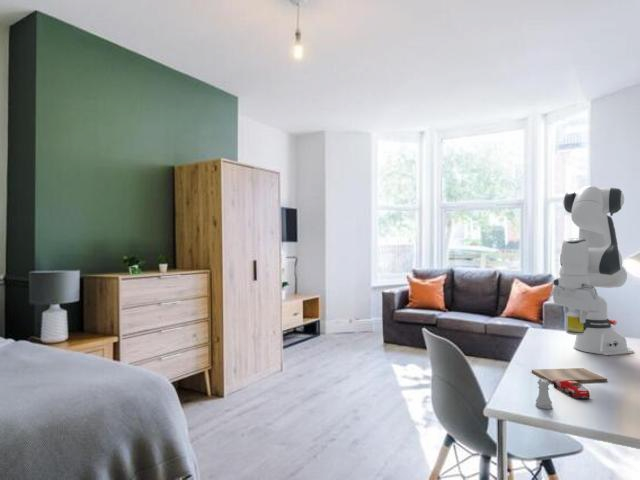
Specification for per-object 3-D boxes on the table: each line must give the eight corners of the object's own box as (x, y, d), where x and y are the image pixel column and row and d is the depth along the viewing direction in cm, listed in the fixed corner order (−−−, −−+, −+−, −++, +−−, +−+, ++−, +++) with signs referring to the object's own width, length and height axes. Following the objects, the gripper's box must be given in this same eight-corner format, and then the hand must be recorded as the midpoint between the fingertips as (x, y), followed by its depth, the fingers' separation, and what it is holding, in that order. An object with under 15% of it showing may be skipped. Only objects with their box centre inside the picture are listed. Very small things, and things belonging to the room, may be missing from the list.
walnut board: (583, 370, 152) (583, 368, 152) (607, 381, 141) (607, 378, 141) (531, 372, 151) (531, 369, 151) (551, 383, 139) (551, 380, 139)
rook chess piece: (532, 403, 123) (531, 377, 123) (546, 403, 123) (545, 376, 123) (541, 410, 118) (541, 382, 118) (555, 409, 119) (555, 382, 119)
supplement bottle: (586, 335, 144) (586, 308, 144) (569, 335, 145) (569, 307, 145) (580, 332, 150) (579, 306, 150) (563, 331, 151) (563, 305, 151)
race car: (550, 386, 138) (550, 374, 138) (566, 385, 138) (565, 374, 138) (575, 401, 125) (575, 388, 125) (592, 400, 125) (592, 387, 125)
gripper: (604, 285, 137) (605, 326, 137) (565, 280, 158) (565, 315, 158) (586, 285, 137) (586, 326, 137) (549, 280, 157) (549, 315, 157)
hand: (575, 320), depth 147 cm, fingers closed on supplement bottle, 5 cm apart
